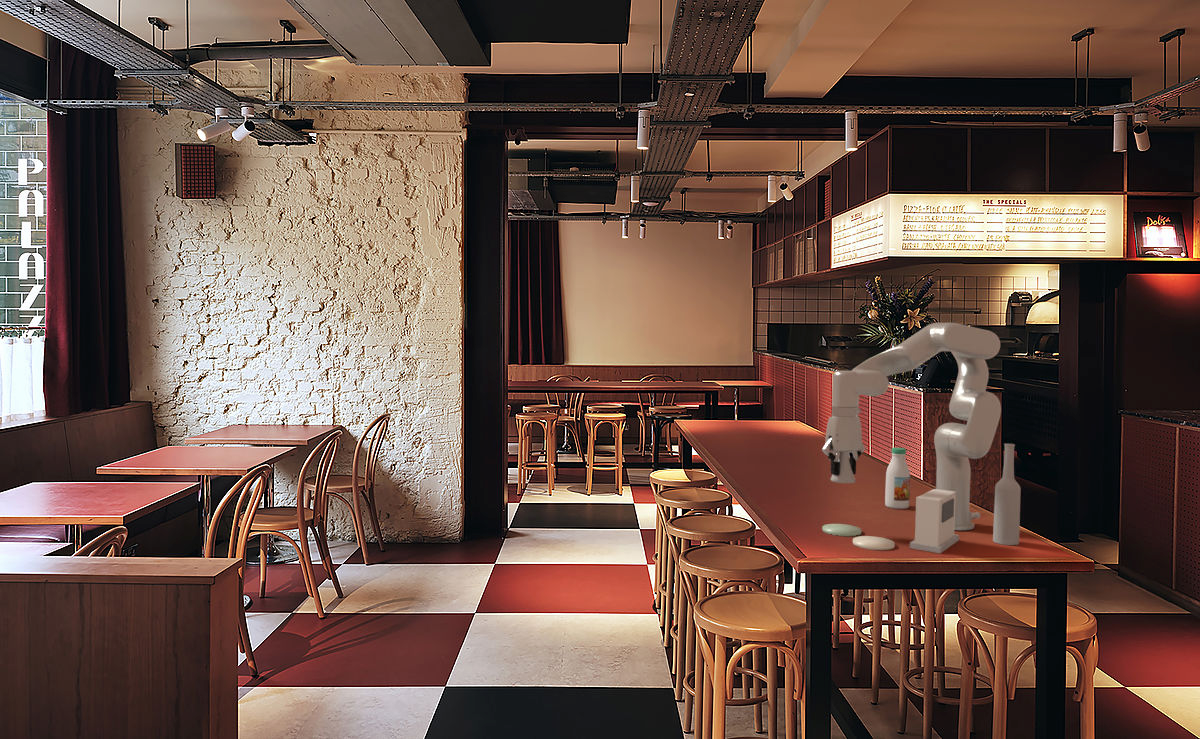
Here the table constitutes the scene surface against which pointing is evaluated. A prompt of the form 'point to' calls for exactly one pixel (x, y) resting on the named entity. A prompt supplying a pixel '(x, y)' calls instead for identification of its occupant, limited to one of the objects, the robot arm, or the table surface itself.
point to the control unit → (935, 521)
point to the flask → (844, 470)
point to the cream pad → (873, 543)
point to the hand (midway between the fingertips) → (843, 473)
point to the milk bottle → (897, 481)
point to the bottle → (1007, 503)
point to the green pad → (841, 529)
